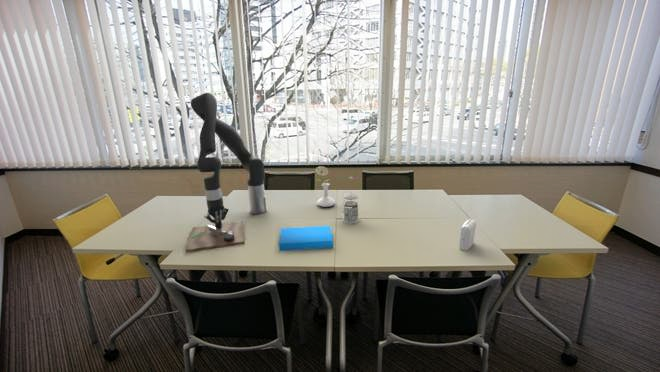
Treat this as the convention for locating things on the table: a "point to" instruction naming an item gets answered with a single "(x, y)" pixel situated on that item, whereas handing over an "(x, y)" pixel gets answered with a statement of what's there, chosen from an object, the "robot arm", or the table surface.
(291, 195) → the table surface
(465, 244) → the photo printer
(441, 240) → the table surface
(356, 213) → the french press
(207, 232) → the dial plate
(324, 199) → the flower in vase
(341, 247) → the table surface
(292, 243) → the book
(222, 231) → the tuning lever
